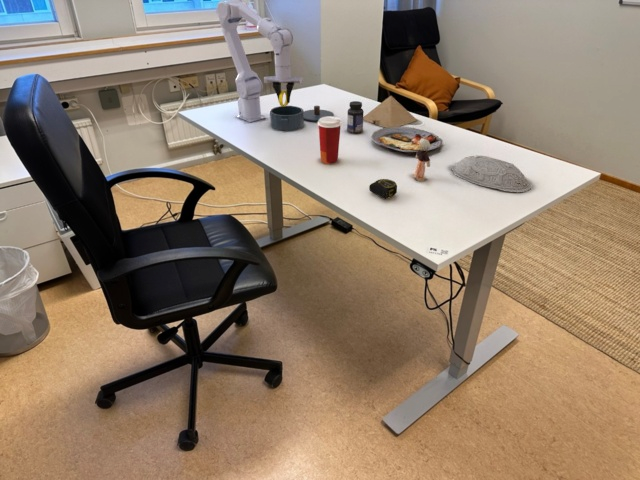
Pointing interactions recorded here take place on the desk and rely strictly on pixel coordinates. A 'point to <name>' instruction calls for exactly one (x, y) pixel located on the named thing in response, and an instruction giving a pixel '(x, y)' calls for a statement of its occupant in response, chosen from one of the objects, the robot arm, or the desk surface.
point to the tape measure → (384, 188)
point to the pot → (287, 118)
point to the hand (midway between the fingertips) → (284, 102)
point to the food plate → (405, 138)
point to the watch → (282, 97)
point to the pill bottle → (355, 117)
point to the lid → (316, 114)
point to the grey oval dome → (491, 173)
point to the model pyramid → (389, 114)
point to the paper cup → (329, 138)
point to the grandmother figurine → (422, 160)
